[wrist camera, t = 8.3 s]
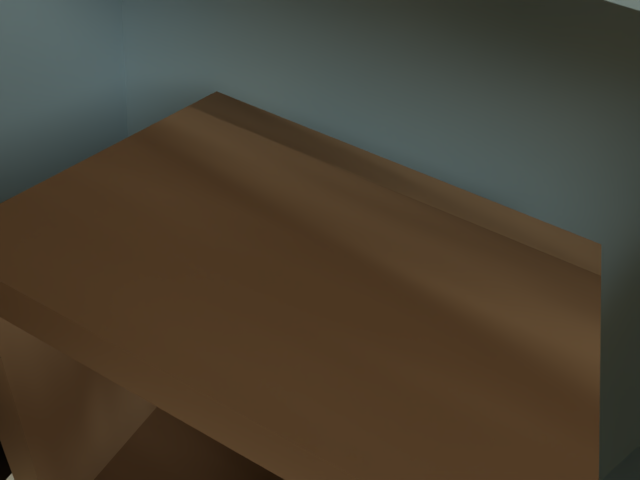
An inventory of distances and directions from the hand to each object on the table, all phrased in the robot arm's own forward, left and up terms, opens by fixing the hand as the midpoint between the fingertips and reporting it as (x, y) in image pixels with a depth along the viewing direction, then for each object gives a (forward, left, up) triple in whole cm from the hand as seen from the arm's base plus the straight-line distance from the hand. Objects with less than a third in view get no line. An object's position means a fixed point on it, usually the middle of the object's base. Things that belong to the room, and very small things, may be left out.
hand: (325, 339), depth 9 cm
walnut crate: (0, 0, -1) cm, 1 cm away
